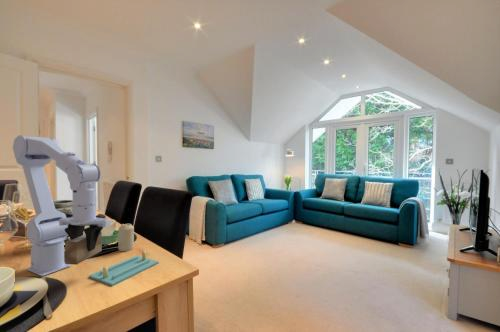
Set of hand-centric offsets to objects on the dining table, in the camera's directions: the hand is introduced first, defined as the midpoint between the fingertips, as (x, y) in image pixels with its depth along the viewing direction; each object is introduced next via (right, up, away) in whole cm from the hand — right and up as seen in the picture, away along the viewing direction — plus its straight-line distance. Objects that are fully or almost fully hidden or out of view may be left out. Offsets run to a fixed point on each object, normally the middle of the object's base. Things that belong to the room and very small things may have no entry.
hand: (84, 249), depth 72 cm
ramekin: (-11, -8, +31) cm, 34 cm away
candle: (0, -9, +25) cm, 26 cm away
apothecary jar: (-30, -8, +29) cm, 42 cm away
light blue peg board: (+9, -9, +7) cm, 14 cm away
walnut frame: (0, -2, 0) cm, 2 cm away
